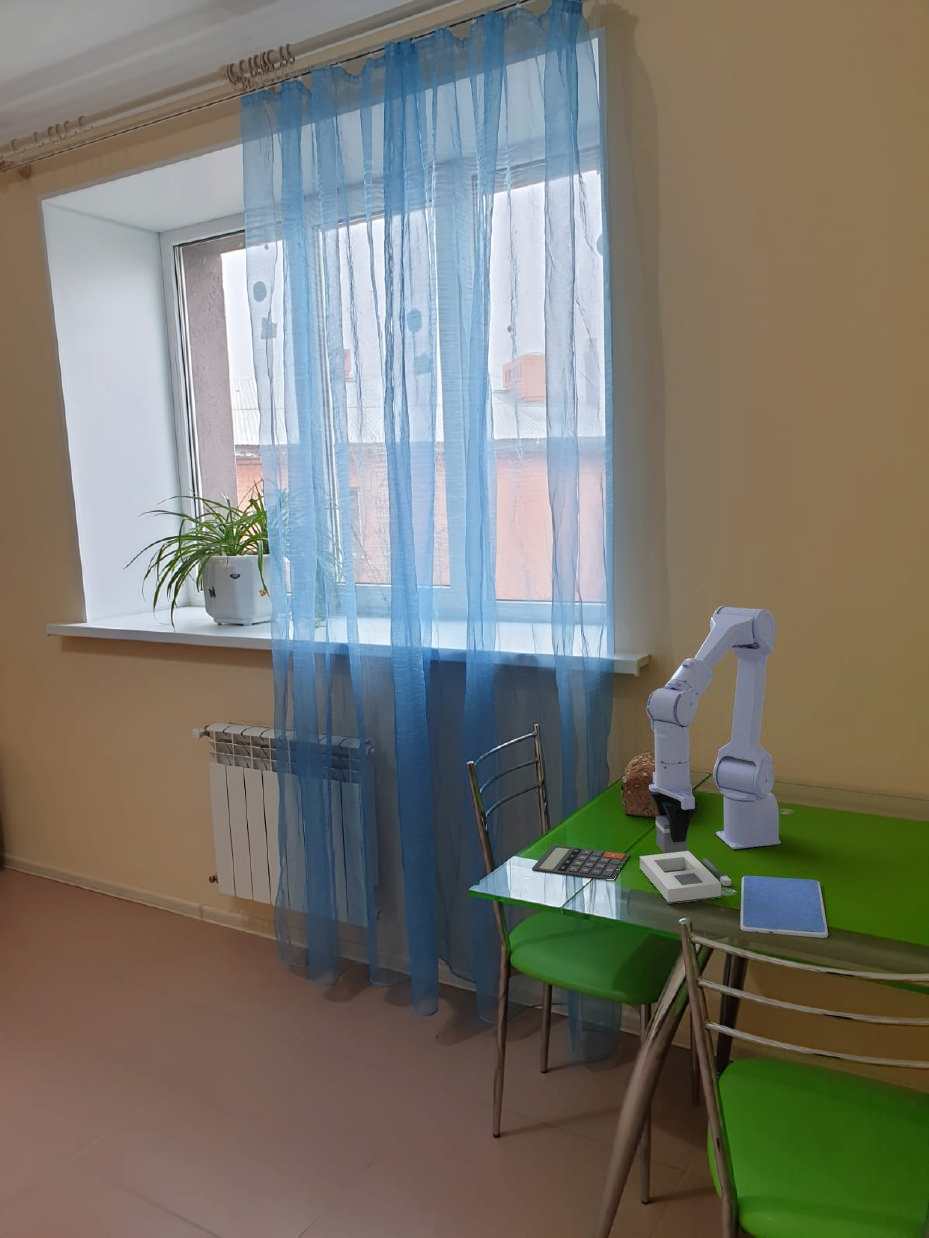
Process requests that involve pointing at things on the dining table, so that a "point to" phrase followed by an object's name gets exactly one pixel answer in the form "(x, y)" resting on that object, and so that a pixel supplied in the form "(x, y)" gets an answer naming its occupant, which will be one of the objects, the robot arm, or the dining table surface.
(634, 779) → the bread
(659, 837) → the block
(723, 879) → the cable
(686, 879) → the switch plate
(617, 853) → the calculator
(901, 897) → the dining table surface
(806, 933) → the tablet computer
